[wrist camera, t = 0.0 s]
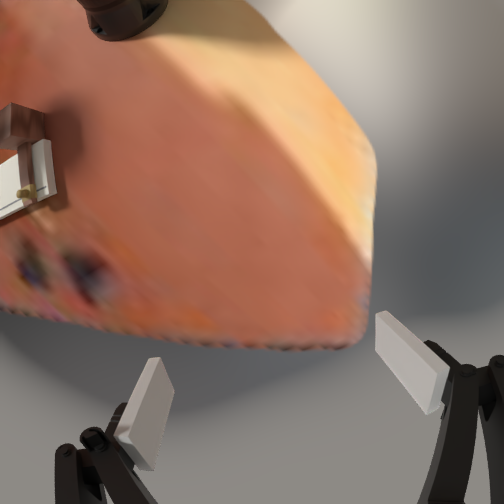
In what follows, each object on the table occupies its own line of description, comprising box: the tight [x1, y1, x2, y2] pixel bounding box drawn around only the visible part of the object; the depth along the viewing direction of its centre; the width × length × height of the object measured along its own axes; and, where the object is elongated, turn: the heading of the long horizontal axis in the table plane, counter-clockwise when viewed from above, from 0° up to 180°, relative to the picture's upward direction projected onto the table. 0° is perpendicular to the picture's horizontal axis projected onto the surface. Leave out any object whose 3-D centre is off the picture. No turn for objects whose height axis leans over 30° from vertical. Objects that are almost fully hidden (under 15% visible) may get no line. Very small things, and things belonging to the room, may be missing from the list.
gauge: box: [0, 103, 45, 207], centre depth 32 cm, size 17×5×10 cm, turn 11°
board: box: [0, 139, 57, 220], centre depth 36 cm, size 10×22×3 cm, turn 101°
